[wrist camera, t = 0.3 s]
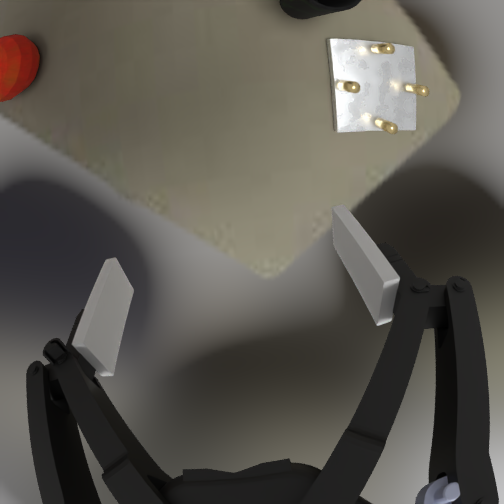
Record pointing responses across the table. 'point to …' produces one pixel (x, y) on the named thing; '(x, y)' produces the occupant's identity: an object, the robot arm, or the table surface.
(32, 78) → the apple
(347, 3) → the cup
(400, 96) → the white board with pegs
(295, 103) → the table surface
